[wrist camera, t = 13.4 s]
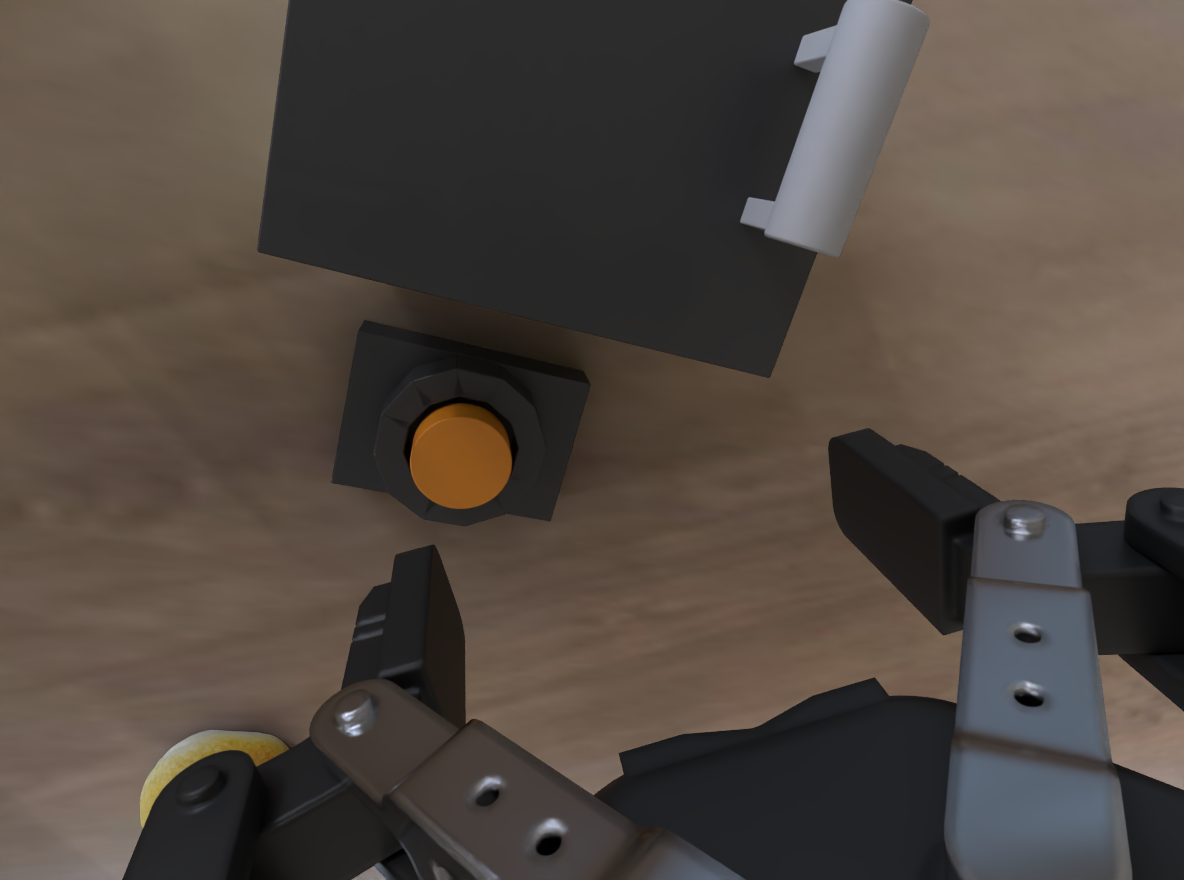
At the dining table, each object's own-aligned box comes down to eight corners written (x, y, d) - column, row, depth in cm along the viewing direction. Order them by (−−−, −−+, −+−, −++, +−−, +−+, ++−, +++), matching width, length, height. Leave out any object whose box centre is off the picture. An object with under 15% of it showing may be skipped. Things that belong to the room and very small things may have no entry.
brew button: (519, 413, 30) (522, 428, 29) (497, 498, 31) (499, 517, 30) (423, 393, 29) (420, 407, 28) (404, 481, 30) (400, 500, 29)
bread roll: (264, 698, 38) (244, 758, 34) (343, 810, 41) (332, 874, 38) (114, 757, 37) (76, 823, 34) (206, 864, 41) (182, 934, 37)
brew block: (584, 371, 34) (598, 398, 30) (546, 502, 36) (555, 543, 32) (364, 319, 31) (351, 342, 28) (338, 464, 33) (323, 503, 30)
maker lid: (933, -97, 18) (1092, -177, 14) (759, 371, 22) (837, 429, 18) (344, -371, 15) (292, -606, 10) (264, 247, 19) (200, 281, 14)
